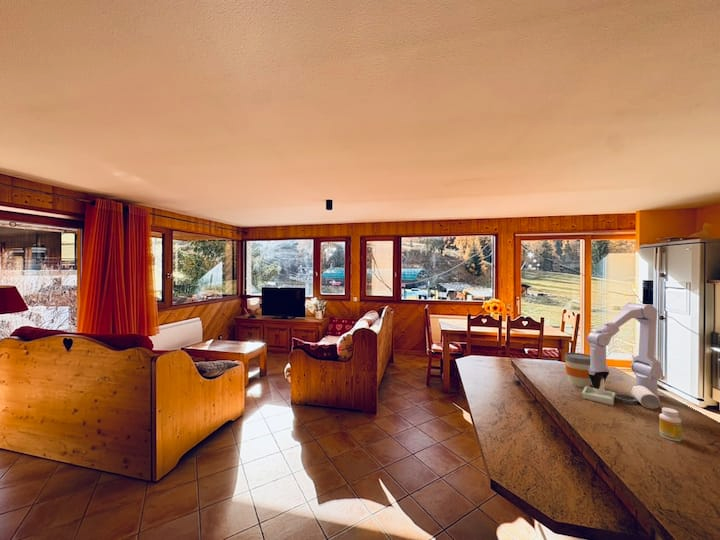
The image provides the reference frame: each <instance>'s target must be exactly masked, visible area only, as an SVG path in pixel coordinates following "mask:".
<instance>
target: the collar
mask: <svg viewBox="0 0 720 540" xmlns="http://www.w3.org/2000/svg"><path fill="white" fill-rule="evenodd" d="M614 401H615V402H618V403H620V404H621V403H622V404H625V405H631V406H636V405H638V404H639V401H638V400H637V399H636V398H635V397H634V396H633V395H630V394H627V393H626V394H625V393H622V392H621V393H620V392H615V400H614Z"/></svg>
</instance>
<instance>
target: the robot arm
mask: <svg viewBox="0 0 720 540" xmlns="http://www.w3.org/2000/svg"><path fill="white" fill-rule="evenodd" d="M657 313H658V310H657V308H655V306H654V305H652V304H643V303H636V302H627V303H625V305H624V306H622V311H621V312H620V313H619V314H618V315H616V316H615V317H614V318H613V320H612V321H607V322H604V323H603V325H602V326H600V327H599V328H598V329H596V330H595V331H592V332H590V333H588V335H587V336H586V341H587V343H588V346H589V354H590V369H589V371H588V372H587V374H588V375H589V377H590V379H591V385H592V388H596V389H599V388H600V382H601V379H602V378H604V385H605V383H606V380H607V377H608V376H609V374H610V369H608V365H607V346H609V344H610V343H611V342H610V341H611V340H612V338H613V337H614V336H615V335H617V333H619V331H620V327H621V326H623V325H624V324H625V323H627V322H629V321H631V320H632V319H635V320H636V321H638V323H639V341H638V354H637V355H636V356H634V357H633V358H632V362H631V364H630V369H631V371H632V372H633V374H634V375H635V385H641V386H644V387H646V388H647V389H648V390H650V391H651V392H652V393H653V394H654V395H655V396H657V397H658V398H659V399H660V397H659V392H658V380H660V379H661V378H662V376H663V374H664V373H663V368H662V363H661V362H660V361H659V360H658V359H657V358H656V357H655V355H656V354H655V353H656V338H657V337H656V335H657V334H656V333H657V315H658V314H657Z"/></svg>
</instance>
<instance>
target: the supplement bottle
mask: <svg viewBox="0 0 720 540" xmlns="http://www.w3.org/2000/svg"><path fill="white" fill-rule="evenodd" d="M661 412H662V413H660V414H659V415H658V417H659V422H658V423H659V427H658V428H659V429H658V432H659V435H660V436H661V438H662V437H663V438H664V439H667V440H670V441H674V442H681V441H682V438H683V437H682V419H681V418H680V417H679V411H678V410H676V409H674V408H672V407H671V408H669V407H661Z"/></svg>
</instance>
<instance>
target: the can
mask: <svg viewBox="0 0 720 540" xmlns="http://www.w3.org/2000/svg"><path fill="white" fill-rule="evenodd" d="M630 391H631V394H632V395H631V396H633V397H635V398H636V399H637V400H638V403H640V404H641V406H643V407H645V408H646V409H649V408H650V409H649V410H654V409H657V408H659V407H660V405H661V401H660V397H659V398H658V397H657V396H655V395H654V394H653V393H652V392H651V391H650V390H648V389H647V388H646V387H644V386H641V385H636V384H635V385H633V386H632V387H631V389H630Z"/></svg>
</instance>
